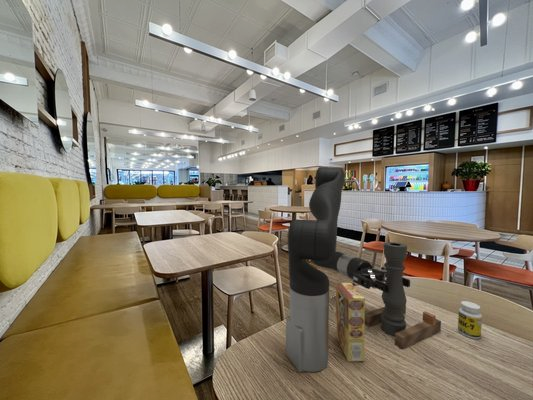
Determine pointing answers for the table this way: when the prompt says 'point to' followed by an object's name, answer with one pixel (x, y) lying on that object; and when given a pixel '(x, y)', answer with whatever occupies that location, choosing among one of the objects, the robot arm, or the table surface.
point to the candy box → (350, 321)
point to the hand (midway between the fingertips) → (399, 286)
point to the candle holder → (394, 289)
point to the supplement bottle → (470, 320)
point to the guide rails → (411, 333)
